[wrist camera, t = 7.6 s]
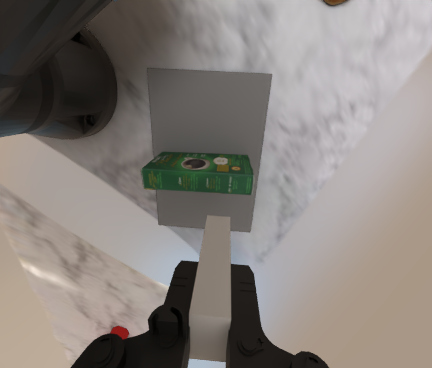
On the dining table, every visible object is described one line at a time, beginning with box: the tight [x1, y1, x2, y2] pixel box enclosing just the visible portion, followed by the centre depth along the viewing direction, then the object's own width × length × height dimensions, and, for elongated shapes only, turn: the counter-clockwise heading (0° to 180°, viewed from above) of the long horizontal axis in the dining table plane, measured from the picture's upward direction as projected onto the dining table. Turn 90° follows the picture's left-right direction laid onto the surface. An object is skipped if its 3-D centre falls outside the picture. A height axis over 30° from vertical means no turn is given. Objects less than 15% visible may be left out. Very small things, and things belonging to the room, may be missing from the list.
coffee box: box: [141, 152, 255, 195], centre depth 27 cm, size 8×3×13 cm
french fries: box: [111, 326, 129, 339], centre depth 43 cm, size 9×4×13 cm, turn 152°
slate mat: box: [147, 68, 272, 232], centre depth 30 cm, size 16×24×1 cm, turn 177°
